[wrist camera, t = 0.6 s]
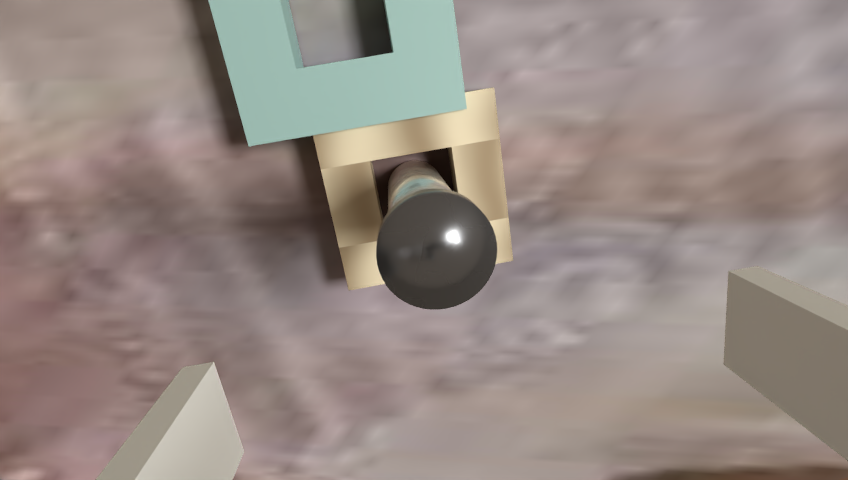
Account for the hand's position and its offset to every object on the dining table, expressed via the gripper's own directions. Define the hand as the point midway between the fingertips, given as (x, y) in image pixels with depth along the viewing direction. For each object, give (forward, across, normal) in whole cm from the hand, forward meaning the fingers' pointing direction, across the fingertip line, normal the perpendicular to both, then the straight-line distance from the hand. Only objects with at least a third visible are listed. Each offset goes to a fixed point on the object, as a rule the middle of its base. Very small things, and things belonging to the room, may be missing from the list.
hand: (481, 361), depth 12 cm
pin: (+23, 0, 0) cm, 23 cm away
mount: (+23, 0, 0) cm, 23 cm away
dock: (+23, -3, +12) cm, 26 cm away
